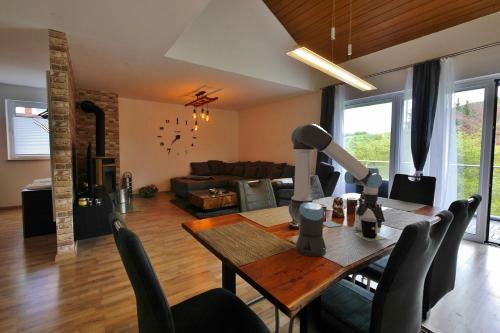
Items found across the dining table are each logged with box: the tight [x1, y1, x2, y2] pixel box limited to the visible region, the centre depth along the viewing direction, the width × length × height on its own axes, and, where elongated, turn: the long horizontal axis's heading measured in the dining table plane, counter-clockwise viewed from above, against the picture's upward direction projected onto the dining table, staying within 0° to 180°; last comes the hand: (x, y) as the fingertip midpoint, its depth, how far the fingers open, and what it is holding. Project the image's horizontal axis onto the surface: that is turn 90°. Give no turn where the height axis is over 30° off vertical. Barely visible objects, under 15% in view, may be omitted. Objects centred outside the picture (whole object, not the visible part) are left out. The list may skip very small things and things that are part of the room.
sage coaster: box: [353, 231, 386, 242], centre depth 140 cm, size 12×12×1 cm
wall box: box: [354, 205, 376, 230], centre depth 155 cm, size 9×9×14 cm
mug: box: [361, 218, 378, 238], centre depth 139 cm, size 12×9×10 cm
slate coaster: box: [323, 220, 342, 228], centre depth 163 cm, size 10×10×1 cm
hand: (369, 229), depth 140 cm, fingers open, 12 cm apart
